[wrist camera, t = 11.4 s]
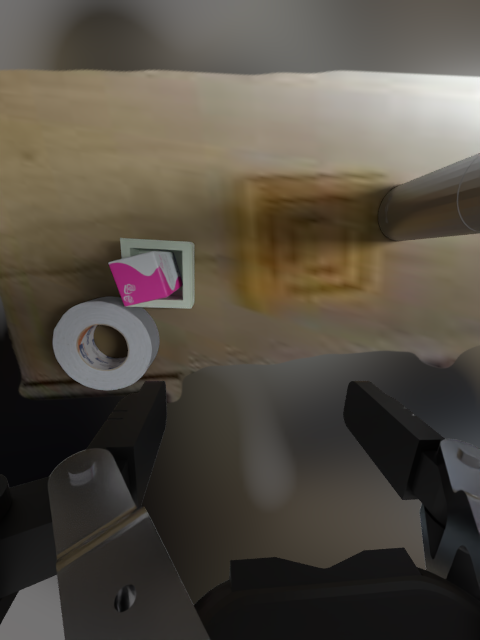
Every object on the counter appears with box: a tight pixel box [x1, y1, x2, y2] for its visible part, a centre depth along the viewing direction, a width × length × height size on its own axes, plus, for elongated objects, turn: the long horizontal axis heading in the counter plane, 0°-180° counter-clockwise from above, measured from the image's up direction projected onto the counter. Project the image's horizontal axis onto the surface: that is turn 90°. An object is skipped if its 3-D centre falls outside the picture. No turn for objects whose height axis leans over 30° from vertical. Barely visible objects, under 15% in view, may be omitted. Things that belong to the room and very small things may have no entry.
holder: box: [120, 238, 194, 308], centre depth 38 cm, size 10×10×5 cm
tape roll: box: [53, 296, 159, 390], centre depth 40 cm, size 15×15×5 cm
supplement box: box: [108, 251, 183, 307], centre depth 34 cm, size 6×6×12 cm
